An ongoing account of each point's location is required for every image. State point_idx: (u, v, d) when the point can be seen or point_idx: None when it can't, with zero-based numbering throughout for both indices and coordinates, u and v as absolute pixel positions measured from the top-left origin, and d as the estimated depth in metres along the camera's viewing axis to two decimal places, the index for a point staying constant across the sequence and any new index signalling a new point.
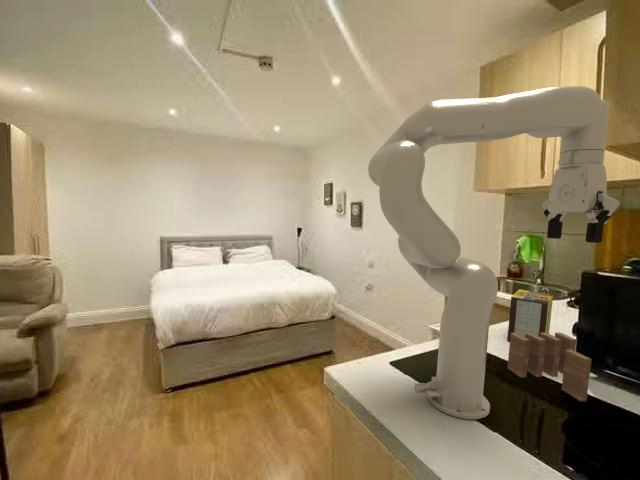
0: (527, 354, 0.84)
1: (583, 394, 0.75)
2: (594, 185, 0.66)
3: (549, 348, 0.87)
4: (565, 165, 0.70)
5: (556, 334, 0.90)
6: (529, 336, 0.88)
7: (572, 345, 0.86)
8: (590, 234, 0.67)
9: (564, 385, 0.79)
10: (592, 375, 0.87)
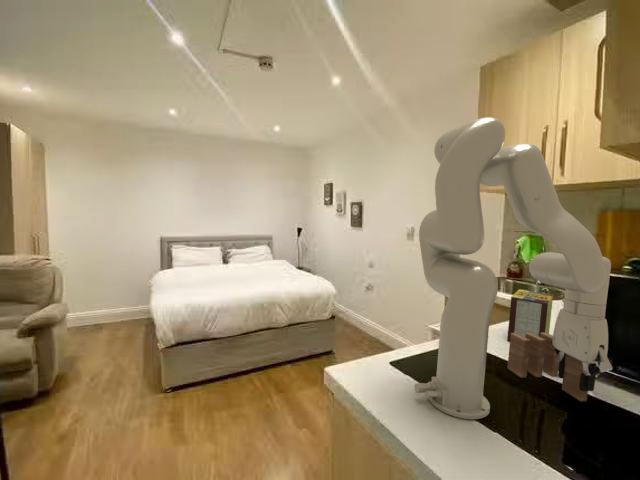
0: (527, 354, 0.84)
1: (583, 394, 0.75)
2: (596, 340, 0.71)
3: (549, 348, 0.87)
4: (569, 313, 0.75)
5: None
6: (529, 336, 0.88)
7: None
8: (583, 384, 0.74)
9: (564, 385, 0.79)
10: None
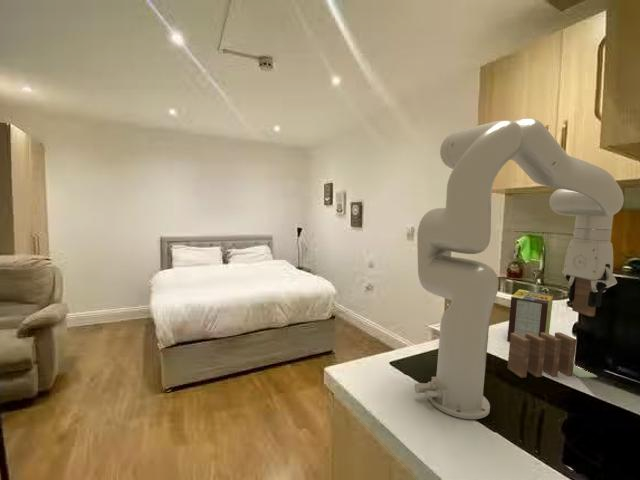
0: (527, 354, 0.84)
1: (591, 310, 0.86)
2: (603, 259, 0.82)
3: (549, 348, 0.87)
4: (579, 239, 0.86)
5: (556, 334, 0.90)
6: (529, 336, 0.88)
7: (572, 345, 0.86)
8: (591, 300, 0.85)
9: (574, 306, 0.90)
10: (592, 375, 0.87)
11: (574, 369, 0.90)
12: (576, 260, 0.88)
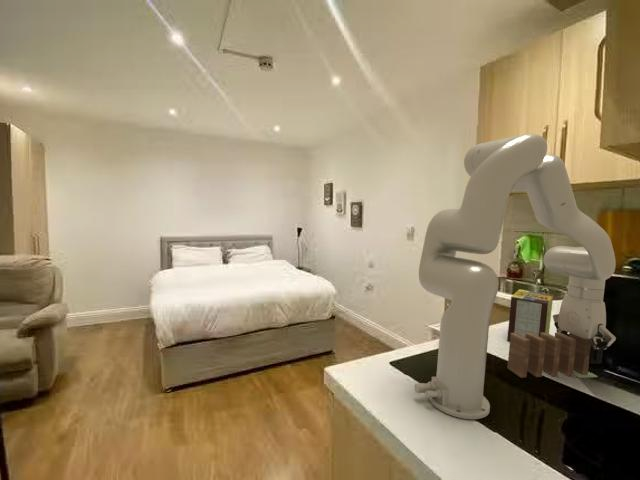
0: (527, 354, 0.84)
1: (585, 368, 0.87)
2: (596, 319, 0.83)
3: (549, 348, 0.87)
4: (572, 297, 0.87)
5: (556, 334, 0.90)
6: (529, 336, 0.88)
7: (572, 345, 0.86)
8: (592, 357, 0.84)
9: None
10: (592, 375, 0.87)
11: None
12: (570, 316, 0.89)
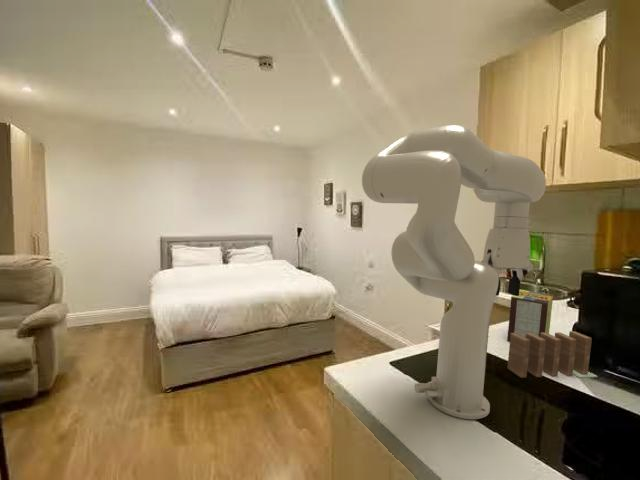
0: (527, 354, 0.84)
1: (585, 368, 0.87)
2: (487, 244, 0.84)
3: (549, 348, 0.87)
4: None
5: (556, 334, 0.90)
6: (529, 336, 0.88)
7: (572, 345, 0.86)
8: None
9: None
10: (592, 375, 0.87)
11: None
12: None
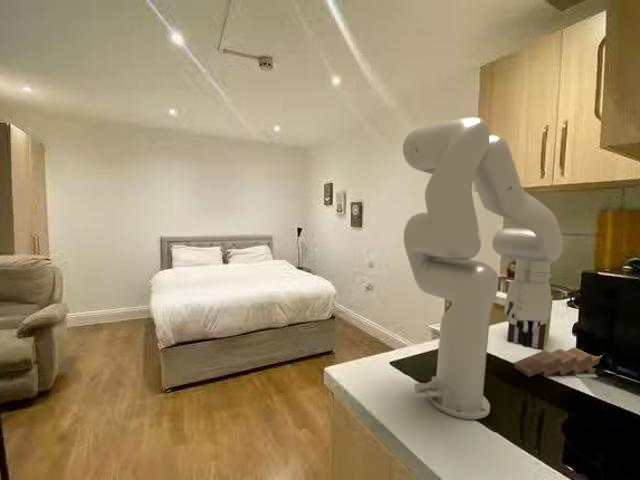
0: (549, 367, 0.86)
1: (593, 370, 0.88)
2: (508, 296, 0.86)
3: None
4: None
5: None
6: (563, 351, 0.90)
7: (600, 358, 0.88)
8: None
9: None
10: (592, 375, 0.87)
11: None
12: None
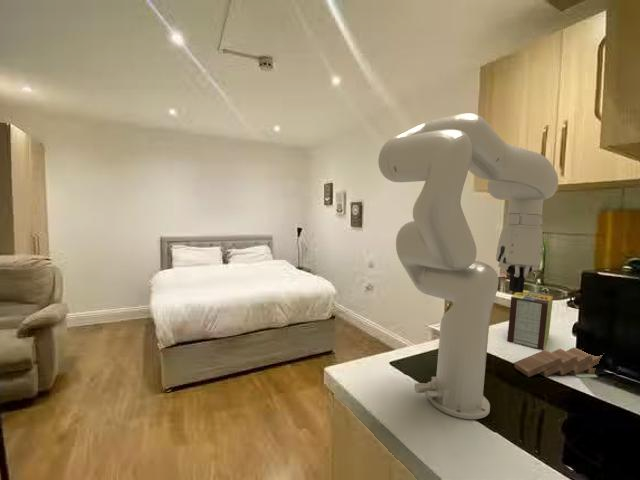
0: (549, 367, 0.86)
1: (593, 370, 0.88)
2: (500, 241, 0.86)
3: None
4: None
5: None
6: (563, 351, 0.90)
7: (600, 358, 0.88)
8: None
9: None
10: (592, 375, 0.87)
11: None
12: None
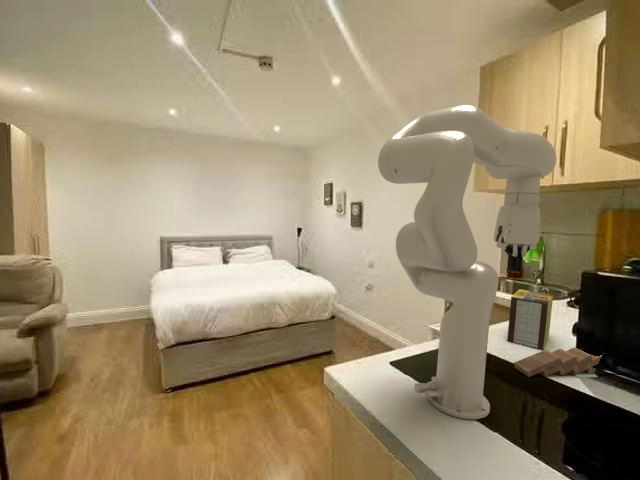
0: (549, 367, 0.86)
1: (593, 370, 0.88)
2: (498, 221, 0.86)
3: None
4: None
5: None
6: (563, 351, 0.90)
7: (600, 358, 0.88)
8: None
9: None
10: (592, 375, 0.87)
11: None
12: None
